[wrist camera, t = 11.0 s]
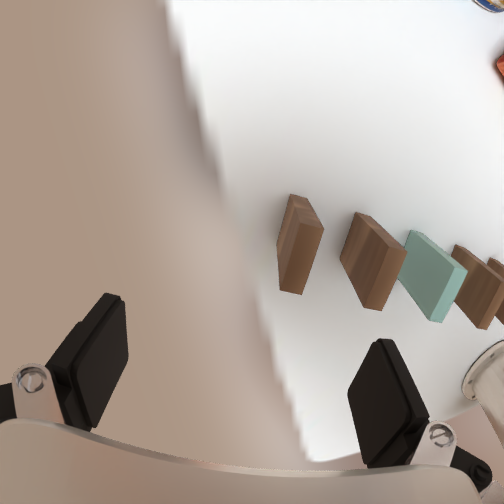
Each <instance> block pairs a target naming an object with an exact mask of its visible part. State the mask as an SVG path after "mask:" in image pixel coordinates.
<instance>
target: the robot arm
mask: <svg viewBox="0 0 504 504" xmlns="http://www.w3.org/2000/svg"><path fill="white" fill-rule="evenodd" d="M127 361H128V343H127V331H126V315H125V302H124V301H122V300H121V298H120V296H117V295H113V294H109V293H104V294H103V296H102V297H101V298H100V299H99V301H98V302H97V303H96V304H95V305H94V307H93V308H92V309H91V311H90V312H89V313H88V314H87V316H86V317H85V318H84V319H83V321H81V322H78V323H77V324H76V325H75V327H74V328H73V329H72V330H71V332H70V333H69V334H68V335H67V337H66V338H65V340H64V341H63V342H62V343H61V345H60V346H59V347H58V349H57V350H56V351H55V353H54V354H53V355H52V357H51V358H50V360H49V361H48V362H47V364H46V365H45V366H42V365H40V364H35V363H32V364H26V365H23V366H21V367H20V368H18V369H17V370H16V371H15V372H14V374H13V377H12V383H8V384H4V385H0V504H504V488H503V487H502V486H501V485H500V484H499V483H498V482H497V481H496V480H495V481H493V482H492V471H491V469H490V467H489V466H488V465H487V464H486V463H485V462H484V461H482V460H480V459H478V458H477V457H475V456H473V455H471V454H470V453H468V452H467V451H465V450H463V449H461V448H459V447H458V446H456V444H457V436H456V433H455V431H454V429H453V428H452V427H451V426H450V425H448V424H447V423H445V422H442V421H432V422H431V423H430V422H429V420H428V418H429V417H430V416H429V414H428V411H427V409H426V407H425V405H424V402H423V400H422V398H421V396H420V394H419V392H418V389H417V387H416V385H415V383H414V381H413V379H412V377H411V375H410V373H409V370H408V368H407V366H406V364H405V362H404V360H403V358H402V356H401V354H400V352H399V350H398V348H397V346H396V344H395V342H394V341H393V340H392V339H381V338H379V339H378V340H377V341H376V342H373V343H372V344H371V346H370V349H369V351H368V353H367V355H366V357H365V359H364V361H363V362H362V364H361V366H360V368H359V370H358V372H357V374H356V376H355V378H354V380H353V381H352V383H351V385H350V387H349V389H348V393H347V396H348V400H349V404H350V408H351V412H352V416H353V421H354V425H355V429H356V433H357V437H358V442H359V446H360V450H361V455H362V459H363V463H364V464H367V468H368V469H357V470H336V471H294V470H274V469H260V468H249V467H240V466H231V465H223V464H216V463H210V462H204V461H198V460H193V459H188V458H182V457H177V456H173V455H168V454H164V453H160V452H156V451H151V450H148V449H144V448H140V447H136V446H133V445H129V444H125V443H122V442H119V441H115V440H112V439H109V438H106V437H102V436H99V435H96V434H93V433H91V432H90V431H91V429H92V427H93V428H96V427H97V425H98V423H99V421H100V419H101V416H102V414H103V412H104V410H105V408H106V406H107V404H108V401H109V399H110V397H111V395H112V393H113V391H114V389H115V387H116V384H117V382H118V380H119V378H120V376H121V374H122V372H123V370H124V368H125V366H126V364H127ZM462 391H463V393H464V395H465V397H466V398H467V399H469V400H477V399H478V401H479V403H480V405H481V406H482V408H483V410H484V411H485V414H486V415H487V417H488V419H489V421H490V423H491V425H492V426H493V428H494V430H495V432H496V434H497V436H498V438H499V440H500V442H501V444H502V446H503V448H504V341H502V342H499V343H498V344H496V345H494V346H493V347H491V348H490V349H489V350H487V351H486V352H485V353H484V354H483V355H482V356H481V357H480V358H479V359H478V360H477V361H476V362H475V363H474V365H473V366H472V367H471V369H470V370H469V372H468V373H467V375H466V377H465V379H464V382H463V386H462Z"/></svg>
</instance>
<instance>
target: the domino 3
mask: <svg viewBox="0 0 504 504" xmlns="http://www.w3.org/2000/svg"><path fill="white" fill-rule="evenodd" d="M404 249H405V250H406V251H407V255H406V257H405V260H404V262H403V264H402V267H401V269H400V272H399V274H398V276H397V278H398V279H399V281H400V282H401V283H402V285H403V286H404V287H405V289H406V290H407V291H408V293H409V294H410V295H411V297H412V298H413V299H414V301H415V302H416V304H417V305H418V306H419V308H420V309H421V311H422V312H423V313H424V315H425V316H426V318H427V319H428V320H429V321H434V322H439V323H442V322H443V320H444V318H445V316H446V314H447V313H448V311H449V309H450V307H451V305H452V303H453V301H454V299H455V297H456V295H457V293H458V291H459V289H460V287H461V285H462V283H463V281H464V279H465V277H466V275H467V272H468V271H467V270H466V269H465V268H464V267H463V266H462V265H460V264H459V263H458V262H457V261H456V260H455V259H453V258H452V257H451V256H450V255H449V254H447V253H446V252H445V251H444V250H443V249H441V248H440V247H439V246H438V245H437V244H435V243H434V242H433V241H432V240H430V239H429V238H428V237H427V236H425V235H424V234H423V233H420V232H417V231H414V230H411V231H410V234H409V236H408V239H407V242H406V244H405V247H404Z"/></svg>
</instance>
